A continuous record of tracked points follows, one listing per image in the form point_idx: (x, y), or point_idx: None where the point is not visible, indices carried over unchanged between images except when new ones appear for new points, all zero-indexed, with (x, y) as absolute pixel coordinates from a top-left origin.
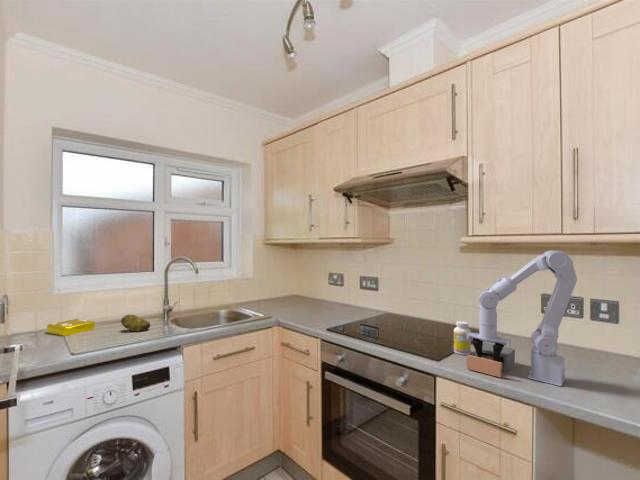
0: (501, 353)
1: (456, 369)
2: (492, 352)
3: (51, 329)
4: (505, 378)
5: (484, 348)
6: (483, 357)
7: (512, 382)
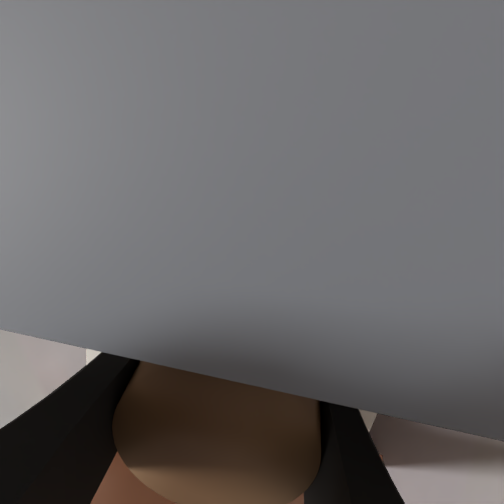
0: (455, 399)
1: (4, 425)
2: (262, 376)
3: None
4: (418, 443)
5: (43, 211)
6: (162, 478)
7: (470, 496)
